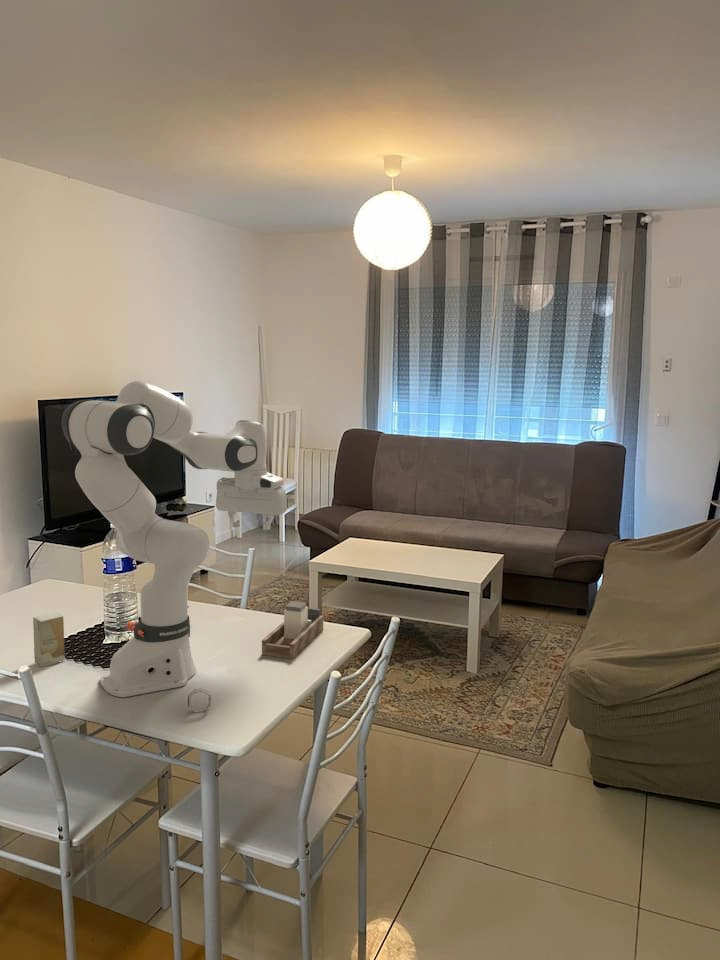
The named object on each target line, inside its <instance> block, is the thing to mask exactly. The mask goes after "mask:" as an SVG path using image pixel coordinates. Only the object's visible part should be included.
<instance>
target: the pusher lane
mask: <svg viewBox="0 0 720 960" xmlns="http://www.w3.org/2000/svg"><path fill="white" fill-rule="evenodd" d="M308 620H311V625H310V626H309V627H307V628H306V629H305V630H304V631H303V632H302V633H301V634H300V635H299V636H298V637H297V638H296V639H289V638H284V621H282V622H281V623H280V624H279V625H278V626H277V627H276V628H275V629H273V630H271V632H270V633H269V634H267V635H266V636H265V637H264V638H263V639H262V640H261V655H262V656H267V655H268V657H274V656H275V657H277V658H281V657H283V659H289V660H294V659H295V658H296V657H297V656H298V655H300V653H301V652H302V651H303V650H304V649H305V648H306V647H307V646H308V645H309V644H310V643H312V641H313V640H314V639H315V638H316V637H317V636H318V635H319V634H320V633H321V632H322V631H323V630H324V615H321V609H320V608H315V607H308Z"/></svg>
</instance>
